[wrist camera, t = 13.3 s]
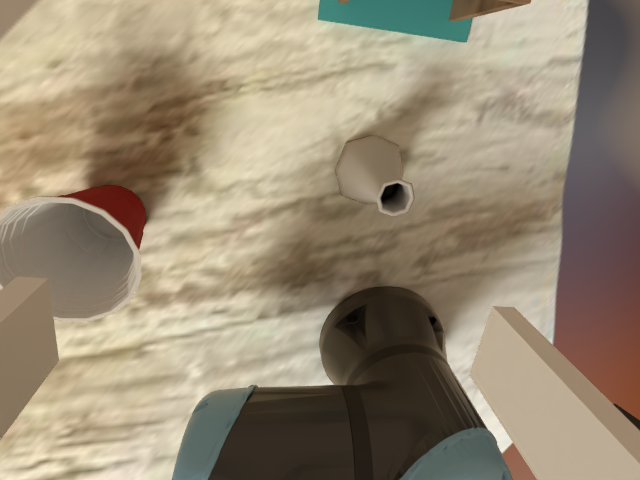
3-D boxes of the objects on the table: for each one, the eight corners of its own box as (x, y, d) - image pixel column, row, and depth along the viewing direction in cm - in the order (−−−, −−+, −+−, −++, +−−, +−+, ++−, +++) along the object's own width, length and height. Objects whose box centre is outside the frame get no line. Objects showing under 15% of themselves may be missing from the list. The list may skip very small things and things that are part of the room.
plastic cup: (137, 279, 44) (93, 349, 33) (40, 221, 41) (-46, 278, 30) (195, 205, 42) (167, 255, 31) (97, 136, 38) (25, 164, 27)
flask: (337, 132, 40) (356, 151, 31) (407, 136, 41) (445, 155, 32) (332, 202, 43) (348, 238, 34) (397, 203, 44) (430, 239, 35)
